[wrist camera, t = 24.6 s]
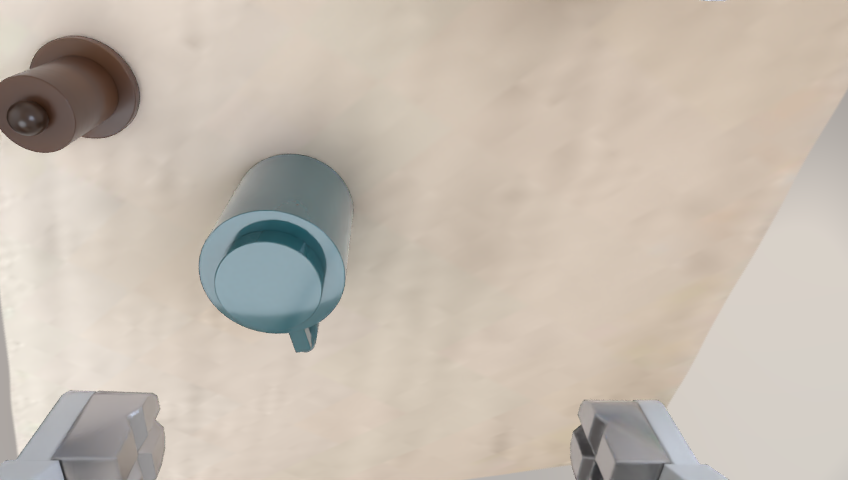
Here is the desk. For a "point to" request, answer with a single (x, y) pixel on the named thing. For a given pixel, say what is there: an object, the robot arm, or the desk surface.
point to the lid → (68, 95)
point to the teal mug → (281, 248)
